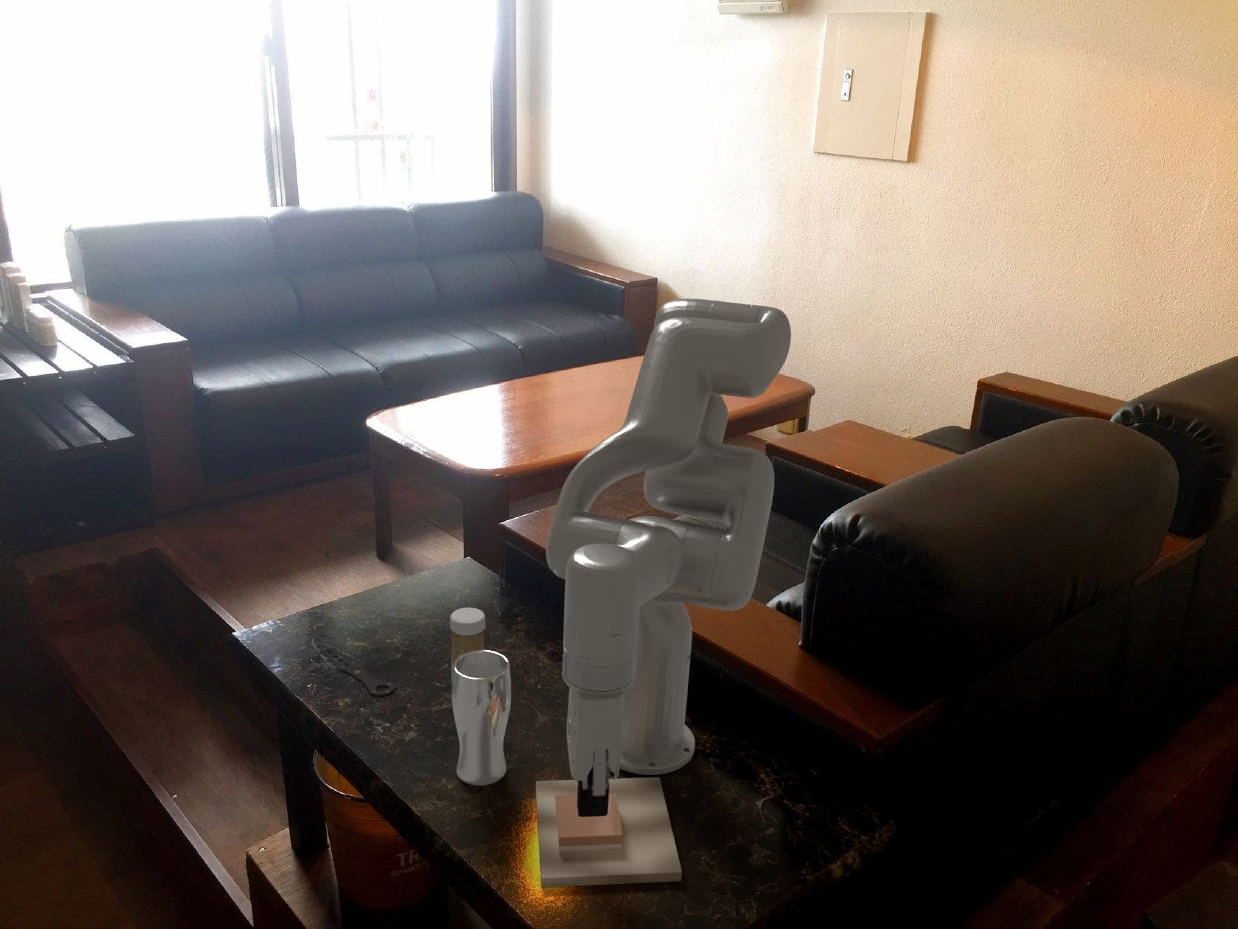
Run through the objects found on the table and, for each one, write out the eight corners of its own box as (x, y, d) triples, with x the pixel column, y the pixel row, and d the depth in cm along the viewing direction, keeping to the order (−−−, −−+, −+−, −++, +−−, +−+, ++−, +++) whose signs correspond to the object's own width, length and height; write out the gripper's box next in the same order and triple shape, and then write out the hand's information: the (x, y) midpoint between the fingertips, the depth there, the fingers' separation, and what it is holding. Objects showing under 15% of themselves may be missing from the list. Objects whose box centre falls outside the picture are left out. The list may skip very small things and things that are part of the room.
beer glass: (456, 792, 121) (455, 683, 116) (449, 756, 128) (448, 652, 123) (514, 784, 123) (516, 677, 118) (504, 750, 130) (506, 646, 124)
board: (535, 789, 123) (535, 781, 122) (658, 785, 124) (659, 777, 124) (541, 887, 108) (541, 878, 107) (681, 881, 110) (681, 872, 109)
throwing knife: (375, 702, 139) (375, 698, 138) (296, 646, 151) (296, 642, 151) (402, 690, 142) (402, 686, 141) (322, 636, 154) (322, 633, 154)
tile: (558, 851, 111) (554, 808, 118) (622, 848, 112) (615, 806, 119) (558, 837, 111) (555, 795, 117) (622, 835, 112) (615, 793, 118)
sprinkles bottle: (452, 692, 141) (451, 606, 136) (485, 692, 142) (485, 606, 137) (450, 711, 137) (449, 623, 132) (484, 711, 137) (484, 623, 133)
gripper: (558, 627, 110) (553, 769, 116) (567, 706, 96) (561, 862, 103) (627, 626, 111) (618, 767, 117) (646, 704, 97) (635, 859, 103)
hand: (592, 811), depth 110 cm, fingers closed
